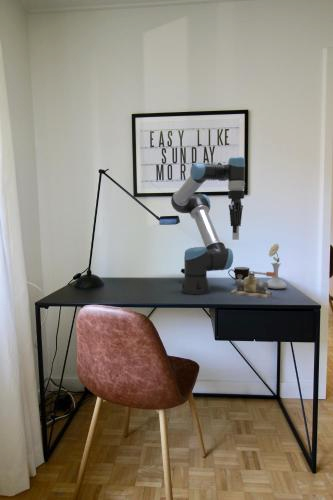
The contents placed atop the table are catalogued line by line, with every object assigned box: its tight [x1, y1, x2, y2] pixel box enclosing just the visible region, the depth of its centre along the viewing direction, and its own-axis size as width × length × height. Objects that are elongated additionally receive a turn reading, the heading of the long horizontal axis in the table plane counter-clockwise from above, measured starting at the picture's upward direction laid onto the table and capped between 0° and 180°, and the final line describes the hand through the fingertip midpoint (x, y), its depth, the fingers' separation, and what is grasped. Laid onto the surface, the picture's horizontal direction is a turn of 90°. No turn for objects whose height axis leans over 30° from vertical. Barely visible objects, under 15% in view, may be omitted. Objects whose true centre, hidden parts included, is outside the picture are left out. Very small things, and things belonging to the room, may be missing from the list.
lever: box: [249, 270, 276, 278], centre depth 162 cm, size 14×3×2 cm, turn 53°
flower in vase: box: [266, 243, 287, 290], centre depth 177 cm, size 13×11×25 cm
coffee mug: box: [227, 266, 250, 281], centre depth 188 cm, size 12×9×10 cm
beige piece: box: [230, 274, 273, 299], centre depth 166 cm, size 18×10×10 cm, turn 57°
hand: (235, 239), depth 158 cm, fingers closed
